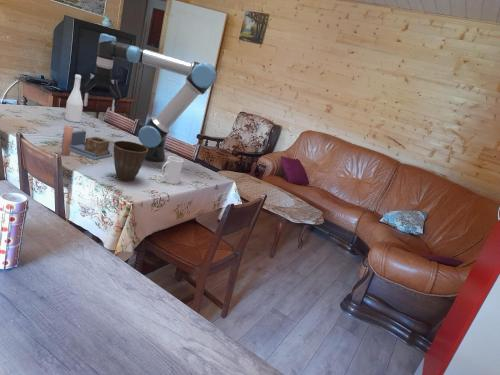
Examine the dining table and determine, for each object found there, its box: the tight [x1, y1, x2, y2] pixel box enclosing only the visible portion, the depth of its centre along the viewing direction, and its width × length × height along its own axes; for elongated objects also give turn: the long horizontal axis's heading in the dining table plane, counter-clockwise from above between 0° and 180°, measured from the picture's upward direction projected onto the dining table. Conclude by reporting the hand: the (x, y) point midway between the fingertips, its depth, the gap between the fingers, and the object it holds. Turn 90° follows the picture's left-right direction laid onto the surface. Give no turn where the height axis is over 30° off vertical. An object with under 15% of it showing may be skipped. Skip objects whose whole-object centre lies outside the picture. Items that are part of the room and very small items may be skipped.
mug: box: [161, 155, 185, 185], centre depth 174 cm, size 12×8×12 cm
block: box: [84, 136, 110, 156], centre depth 180 cm, size 8×8×7 cm
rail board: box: [61, 130, 114, 161], centre depth 181 cm, size 20×14×8 cm
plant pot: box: [113, 140, 148, 182], centre depth 161 cm, size 15×15×16 cm
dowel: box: [61, 125, 74, 157], centre depth 169 cm, size 4×4×14 cm
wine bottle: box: [64, 74, 84, 123], centre depth 226 cm, size 10×10×30 cm
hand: (99, 108), depth 181 cm, fingers open, 13 cm apart
